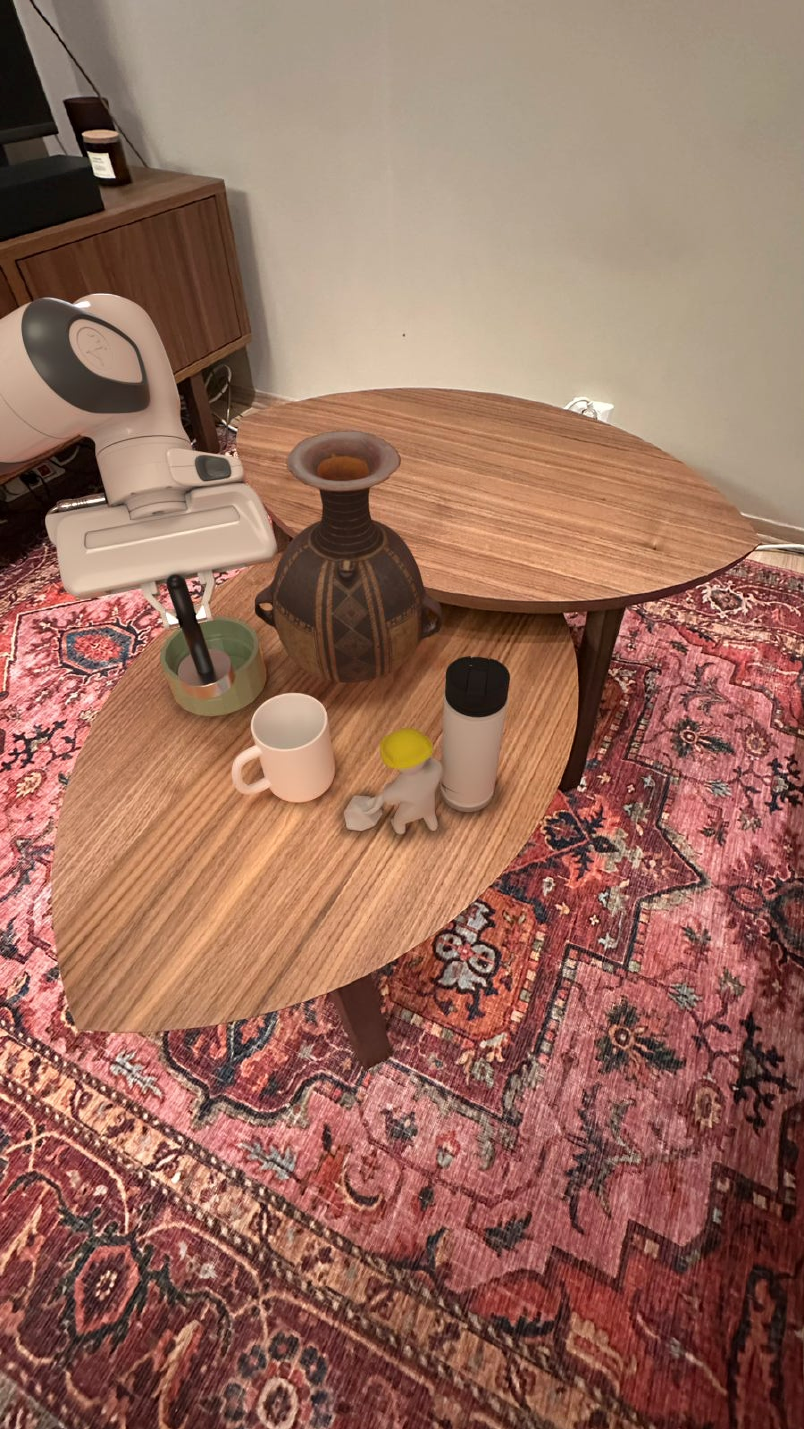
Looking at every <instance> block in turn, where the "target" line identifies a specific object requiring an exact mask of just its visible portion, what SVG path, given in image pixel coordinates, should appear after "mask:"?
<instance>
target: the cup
mask: <svg viewBox="0 0 804 1429" xmlns="http://www.w3.org/2000/svg"><path fill="white" fill-rule="evenodd" d="M250 731H251V734H252V738H253V742H254V745H253V746H250V747H248V748H247V749H245V750H243V751H241V752H240V753H239V754H238V755H237V756H235V759H234V760H233V762H232V765H231V781H232V784H233V786H234V788H235V789H236V791H238V792H239V793H240V794H243V795H249V796H250V795H256V794H259V793H262V792H263V791H266V790H267V789H269V791H271V793H272V794H273V795H275V796H276V797H277V798H279V799H280V800H283V801H286V802H289V803H307V802H310V801H313V800H315V799H317V798H319V797H320V796H322V795H323V794H324V793H326V791H328V789H329V788H330V786H331V785H332V783H333V781H334V779H335V774H336V773H335V772H336V763H335V758H334V757H335V756H334V750H333V744H332V738H331V731H330V724H329V717H328V713H327V710H326V708H325V706H324V705H323V703H321V701H320V700H318V699H317V698H315V697H313V696H311V695H308V694H306V693H300V692H286V693H282V694H278V695H275V696H272V697H271V698H269V699H267V700H266V701H264V702H263V703H261V704H260V705H259V706H258V708H256V710H255V711H254V713H253V716H252V718H251V721H250ZM257 758H258V759H259V763H260V766H261V769H262V773H263V776H264V777H262V778H261V779H259V780H257V781H255V782H253V783H251V784H246V783H245V781H244V779H243V776H242V775H243V774H242V772H243V767H244V765H246V764H247V763H248V762H250V761H253V760H255V759H257Z"/></svg>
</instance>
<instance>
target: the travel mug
mask: <svg viewBox="0 0 804 1429" xmlns="http://www.w3.org/2000/svg"><path fill="white" fill-rule="evenodd" d="M444 681H445V682H444V693H443V694H444V695H443V714H442V718H443V719H442V732H441V733H442V736H441V753H440V754H441V757H440V763H441V765H442V767H443V774H442V777H441V780H440V782H439V793H440V797H441V799H442V800H443V801H444V803H445V804H446V805H447V806H448V807H450V808H451V809H453V810H456V811H458V812H461V813H474V812H478V811H481V810H482V809H485V808H486V807H487V806H488V805H489V804H491V802H492V799H493V797H494V793H495V786H496V780H497V773H498V766H499V760H500V759H499V758H500V755H501V754H500V753H501V747H502V746H501V745H502V740H503V733H504V727H505V719H506V713H507V707H508V701H509V689H510V684H511V674H510V671H509V669H508V668H507V667H506V665H504V664H503V663H502V662H501V661H499V660H497V659H494V658H491V657H489V658H487V657H482V656H471V655H468V656H461V657H459V658H456V659H455V660H453V661H452V662H451V663H450V664H449V665H448V666H447V668H446V671H445V680H444Z"/></svg>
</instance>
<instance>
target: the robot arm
mask: <svg viewBox="0 0 804 1429" xmlns="http://www.w3.org/2000/svg"><path fill="white" fill-rule="evenodd" d="M165 348H166V347H165V346H164V343H163V341H162V338H161V336H160V334H159V332H158V330H157V328H156V326H155V324H154V322H153V321H152V319H151V317H150V316H149V314H148V312H146V310H145V309H144V308H143V307H142V306H140V305H139V304H137V303H136V302H134V301H132V300H130V299H128V298H127V297H122V296H119V295H116V294H110V293H92V294H89V295H85V296H82V297H80V298H79V299H77V300H75V301H74V302H73V303H70V302H68V301H65V300H63V299H59V298H55V297H39V298H37V299H34V300H32V301H30V302H28V303H25V304H23V305H22V306H19V307H18V308H16V309H15V310H13V311H11V312H10V313H8V314H7V315H5V316H3V317H2V318H0V475H8V474H12V473H15V472H18V471H19V470H20V469H22V468H24V467H25V466H27V465H29V464H30V463H31V462H33V461H34V460H36V459H37V458H38V457H40V456H41V455H43V454H44V453H46V452H48V451H50V450H52V449H54V448H56V447H58V446H60V445H62V444H64V443H67V442H68V441H71V440H72V439H75V438H76V437H78V436H81V437H86V438H90V439H91V440H92V441H93V442H94V444H95V446H94V447H95V448H94V450H95V458H96V462H97V466H98V470H99V473H100V477H101V481H102V484H103V488H104V492H99V493H95V494H89V495H85V496H82V497H78V498H73V499H72V498H67V499H66V498H65V499H61V500H59V501H57V502H56V505H55V506H53V507H52V508H50V509H49V510H48V512H47V513H46V515H45V519H44V524H45V529H46V532H47V535H48V539H49V542H50V543H51V544H52V546H54V548H56V556H57V564H58V571H59V575H60V580H61V584H62V587H63V589H64V591H65V592H67V593H68V594H69V595H71V596H72V597H74V598H76V599H78V600H81V601H82V600H83V601H85V600H90V599H95V598H100V597H105V596H110V595H115V594H121V593H127V592H130V591H135V590H139V589H141V593H142V597H143V598H145V600H146V601H147V602H148V603H149V604H150V606H152V607H153V608H154V609H155V610H156V611H157V612H158V613H159V615H160V618H161V621H162V625H163V626H162V627H163V628H164V630H165V631H166V632H168V631H172V630H177V629H179V628H181V625H180V623H179V620H178V617H177V614H176V612H175V609H174V608H172V609H167V608H166V607H165V606H164V605H163V603H161V602H160V601H159V599H157V597H158V598H159V597H160V596H161V595H162V594H161V590H160V585H166V580H167V578H168V577H169V576H170V575H172V574H179V575H181V576H183V577H184V579H185V580H190V579H194V578H198V581H199V584H200V586H201V587H203V588H204V592H203V594H202V598H201V602H200V603H196V604H193V605H194V611H195V612H196V614H197V615H196V618H197V622H198V623H199V624H201V623H206V622H211V621H213V617H214V616H213V612H212V608H211V604H212V601H213V597H214V594H215V590H216V587H217V583H216V579H215V574H219V573H224V572H229V571H234V570H239V569H244V568H250V567H254V566H259V565H263V564H269V563H272V562H273V561H274V559H275V558H276V556H277V554H278V551H279V550H278V544H277V540H276V536H275V532H274V529H273V526H272V523H271V521H270V518H269V515H268V513H267V511H266V508H265V506H264V503H263V501H262V499H261V496H260V495H259V494H258V492H257V491H256V490H255V489H254V488H253V487H251V486H250V485H249V484H248V479H247V472H246V469H245V467H244V464H243V462H242V461H241V459H240V458H238V457H237V456H233V455H227V454H219V453H212V452H206V451H205V452H204V451H198V450H194V449H193V446H192V443H191V442H192V441H191V439H190V438H189V435H188V434H187V432H186V430H185V429H184V426H183V422H182V418H181V406H182V405H181V398H180V395H179V390H178V385H177V383H176V379H175V376H174V372H173V369H172V365H171V362H170V360H169V357H168V354H167V351H166V349H165ZM57 511H58V512H57Z"/></svg>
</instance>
